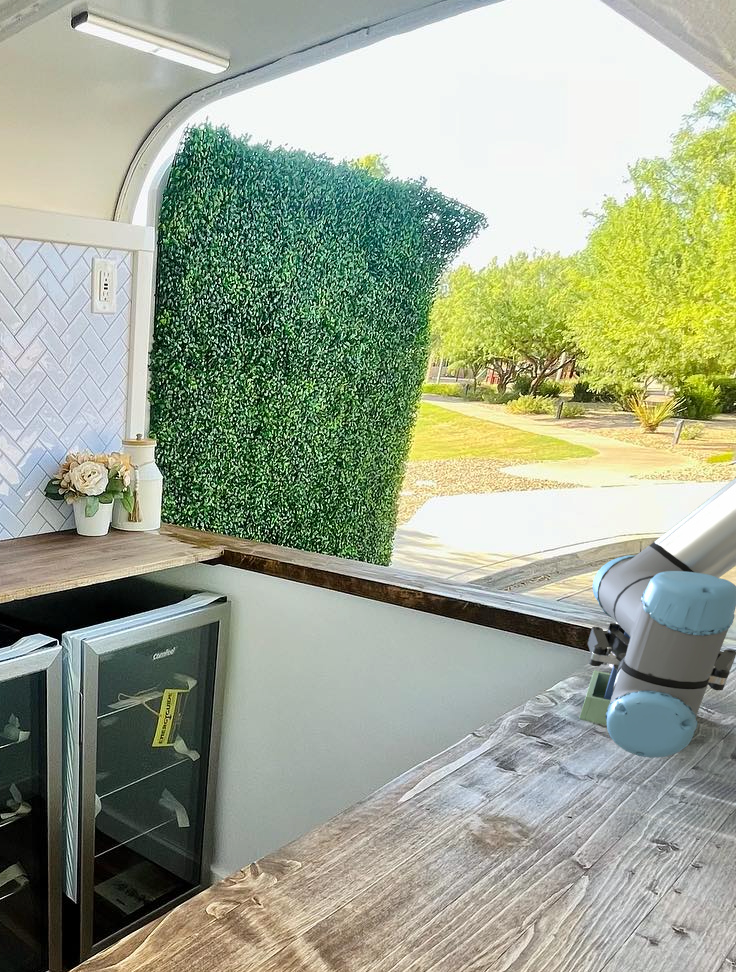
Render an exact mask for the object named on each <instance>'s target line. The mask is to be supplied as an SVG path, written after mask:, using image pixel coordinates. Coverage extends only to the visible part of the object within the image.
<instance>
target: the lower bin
mask: <svg viewBox="0 0 736 972" xmlns="http://www.w3.org/2000/svg"><path fill="white" fill-rule="evenodd" d="M610 674H611V672H610V673H609V672H605V671H600V670H596V669H595V670H593V672H592V675H591V678H590V681H589V685H588V688H587V691H586V694H585V698H584V702H583V704H582V708H581V711H580V714H579V717H578V718H579V720H582V721H588V722H591V723H595V724H599V725H604V726H607V720H606V719H605V716H606V712H607V709H608V706H609V704H610V701H611V700H607V699H604V696H605V692H606V688H607V684H608V681H609V678H610Z"/></svg>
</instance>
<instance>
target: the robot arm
mask: <svg viewBox="0 0 736 972" xmlns="http://www.w3.org/2000/svg"><path fill="white" fill-rule="evenodd" d="M734 567H736V477H735V478H733V479H732V480H731V481H730V482H728V483H727V484H726V485H724V486H723V487H722V488H721V489H720V490H718V491H717V492H716V493H714V494H713V495H712V496H711V497H709V498H707V499H706V501H704V502H703V503H701V505H699V506H698V507H697V508H695V509H694V510H693V511H691V512H690V513H689V514H687V516H685V517H684V518H682V519H681V520H680V521H678V522H676V524H674V525H673V526H672V527H671V528H670V529H668V530H667V531H666V532H664V533H663V534H662V535H661V536H659V537H658V538H657V539H656V540H654V541H653V542H652V543H651V544H649V545H648V546H646V547H645V548H644V549H643V550H641V551H640V552H639V553H637V554H630V555H623V556H619V557H616V558H614V559H611V560H609V561H608V562H606V563H605V564H604V565H602V566H601V567H600V568H599V569H598V571H597V572H596V574H595V576H594V578H593V581H592V593H593V597H594V598H595V600H596V601H597V603H598V606H599V607H600V608H601V610H602V612H603V613H604V614H606V616H608V617H609V618H611V619H612V620H613V621H615V622H610V623H609V625H608V628H607V630H604V629H603V628H602V627H600V626H592V627H591V630H590V634H589V636H588V640H587V646H588V649H589V652H590V655H591V656H590V659H589V663H588V665H590V666H592V667H601V666H602V665H603V666H607V665H609V664H613V665H614V668H615V669H616V670H617V675H616V680H615V683H614V687H613V694H612V697H611V701H610V704H609V706H608V709H607V712H606V716H605V719H606V720H607V725H606V730H607V732H608V735H609V738H611V740H612V741H613V742H614V743H615V744H616V745H617V746H618V747H619V748H621V749H622V750H623V751H626V752H627V753H630V754H633V755H634V756H635V755H636V756H638V757H643V758H651V759H653V758H654V759H655V758H656V759H657V758H666V757H669V756H672V755H676V754H677V753H679V752H681V751H683V750H684V749H685V748H686V747H688V745H689V744H690V743H691V741H692V739H693V738H694V735H695V732H696V731H695V730H696V729H697V728H698V723H699V722H698V721H697V719H696V718H697V716H698V714H699V713H698V712H699V710H700V707H701V704H702V702H703V699H704V697H705V694H706V691H707V688H708V686H709V688H710V689H712V690H714V691H724V688H725V686H726V684H727V681H728V678H729V676H730V673H731V670H732V667H733V664H734V662H735V659H736V650H734V649H730V648H729V649H724V650H723V651H721V649H722V647H723V644H724V642H725V639H726V638H727V637H726V636H727V634H728V631H729V629H730V628H731V626H733V623H734V619H735V611H736V584H734V583H733V582H731V581H730V580H728V579H725V578H721V577H722V576H723V575H725V574H726V573H728V572H729V571H731V570H732V569H734ZM616 622H617V623H618V624H616ZM625 632H626V633H627V634H628V635H629V636H630V639H629V638H628V637H627V636H625V635H624V633H625ZM611 652H612V653H611ZM613 654H614V655H613ZM615 655H616V656H615Z"/></svg>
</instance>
